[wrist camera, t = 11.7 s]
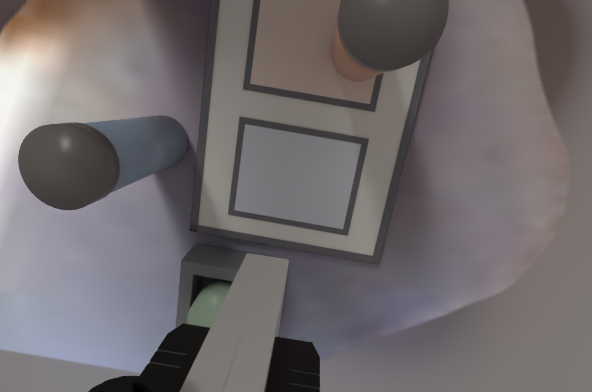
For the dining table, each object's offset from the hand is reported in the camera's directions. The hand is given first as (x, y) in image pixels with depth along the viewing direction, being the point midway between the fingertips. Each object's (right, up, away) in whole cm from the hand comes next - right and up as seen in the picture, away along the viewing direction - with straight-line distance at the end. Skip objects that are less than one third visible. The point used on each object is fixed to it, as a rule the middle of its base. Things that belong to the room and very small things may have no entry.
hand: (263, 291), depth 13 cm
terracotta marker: (+6, +14, +13) cm, 20 cm away
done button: (-5, -5, +17) cm, 18 cm away
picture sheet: (+2, +10, +15) cm, 18 cm away
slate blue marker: (-10, +8, +16) cm, 20 cm away
